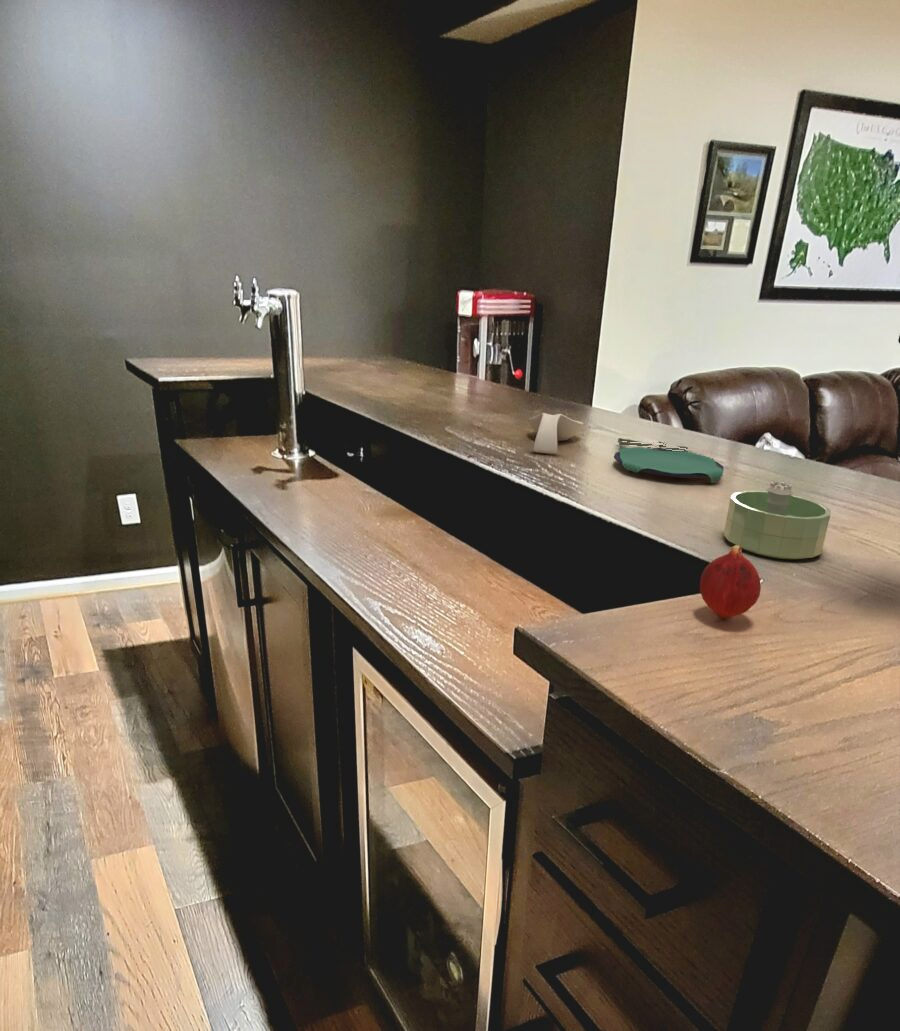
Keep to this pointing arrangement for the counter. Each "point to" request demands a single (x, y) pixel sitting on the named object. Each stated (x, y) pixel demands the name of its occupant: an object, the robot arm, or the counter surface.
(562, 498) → the counter surface
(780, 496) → the rook chess piece
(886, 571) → the counter surface
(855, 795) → the counter surface
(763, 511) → the green round tub
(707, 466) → the cutlery set
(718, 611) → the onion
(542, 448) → the spoon rest
